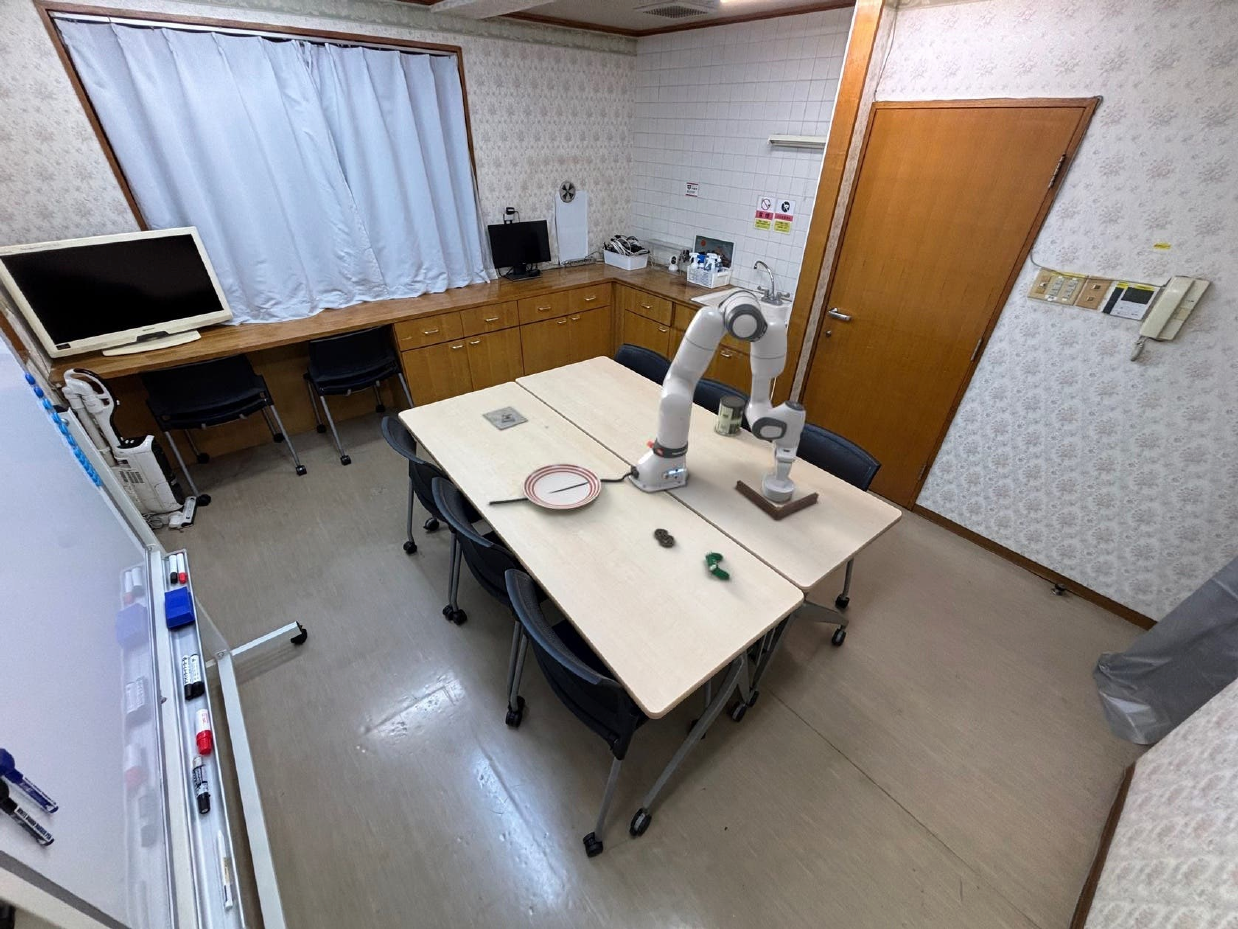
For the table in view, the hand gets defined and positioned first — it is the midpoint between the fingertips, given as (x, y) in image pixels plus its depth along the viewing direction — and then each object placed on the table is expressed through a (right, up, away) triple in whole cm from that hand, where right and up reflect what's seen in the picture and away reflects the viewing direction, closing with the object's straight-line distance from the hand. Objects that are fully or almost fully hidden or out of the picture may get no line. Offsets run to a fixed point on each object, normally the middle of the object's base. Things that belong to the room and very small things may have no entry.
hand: (776, 476), depth 183 cm
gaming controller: (-30, -27, -36) cm, 53 cm away
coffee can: (-11, +19, +33) cm, 40 cm away
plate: (-78, -5, -7) cm, 79 cm away
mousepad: (-104, +23, +33) cm, 111 cm away
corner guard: (-2, -7, -5) cm, 9 cm away
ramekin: (-2, -6, -4) cm, 8 cm away
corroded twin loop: (-44, -19, -26) cm, 55 cm away
